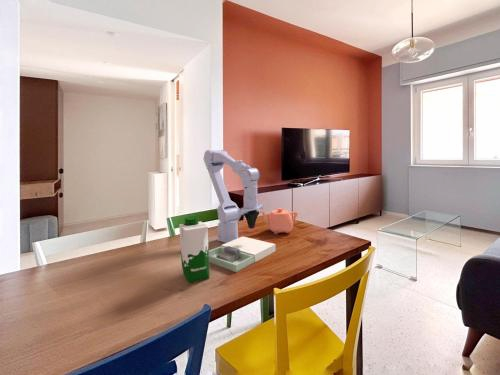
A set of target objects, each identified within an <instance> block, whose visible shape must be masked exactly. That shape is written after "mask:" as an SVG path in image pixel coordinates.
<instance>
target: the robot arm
mask: <svg viewBox="0 0 500 375" xmlns="http://www.w3.org/2000/svg"><path fill="white" fill-rule="evenodd" d="M203 154H204V155H203V162H204V164H205V167H206V170H207V171H208V174H209V177H210V179H211V180H210V181H211V183H212V186H213V188H214V191H215V194H216V197H217V199H218V203H219V206H218V207H217V208H216V211H217V217H218V220H219V223H218V224H217V239H216V241H218V242H223V243H224V244H225V243H228V242H230V241H233V240H235V239H238V238H239V229H238V222H240V219H241V217H242V216H244V218H245V220H246V223H247V226H248V228H249V229H255V226H256V221H257V219H258V216H259V214H260V210H263V209H264V204H262V203H258V202H259V201H258V200H259V199H258V181H259V180H260V178H261V172H260V171H259V169H258V168H257V167H251V166H250V165H249V164H248V165H247V164H246V163H244V161H243V160H242V159H240V160H235V159H234V158H233V157H232V156H231V155H229V154H228V151H226V150H224V149H217V150H215V149H213V150H209V149H207V150H205V152H204V153H203ZM225 165H227V166H228V167H230V168H231V171H232V172H233V173H234V174H236V175H237V176H239V177H240V180H241V183H242V187H243V202H244V203H243V207H241V208H239V207H238V205H237V203H236V202H234V201H232V200H231V197H230V194H229V191H228V190H227V186H226V183H225V182H224V179H223V176H222V174H221V170H222V169H223V168H224V166H225Z"/></svg>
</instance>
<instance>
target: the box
mask: <svg viewBox="0 0 500 375" xmlns="http://www.w3.org/2000/svg"><path fill="white" fill-rule="evenodd" d="M208 251H209V264H212V265H215V266H217V267H220V268H222V269H226V270H229V271H232V272H234V273H238V272H240V271H241V270H244V269H245V268H247V267H249V266H251V265H253V264H254V263H255V262H254V256H252V255H248V254H245V253H241V252H240V259H239V260H237V261H235V262H233V263H231V262H228V261H225V260H222V259H219V258H217V256H216V255H218V254H220V253H222V252H224V247H221V246H218V247H215V248H213V249H211V250H208Z"/></svg>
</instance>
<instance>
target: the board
mask: <svg viewBox="0 0 500 375" xmlns="http://www.w3.org/2000/svg"><path fill="white" fill-rule="evenodd" d="M227 246H230V247H233V248H237V249H240V252H241V253H245V254H248V255H252V256H254V263H256V262H258V261H260V260H262V259H264V258H266V257H268V256H269V255H271V254H273V253H275V252H276V250H277V249H276V243H272V242H268V241H263V240H259V239H255V238H250V237H246V236H240V237H238V239H235V240H233V241H230V242H228V243H225V242H224V243H223V244H221V247H224V248H225V247H227Z"/></svg>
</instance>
